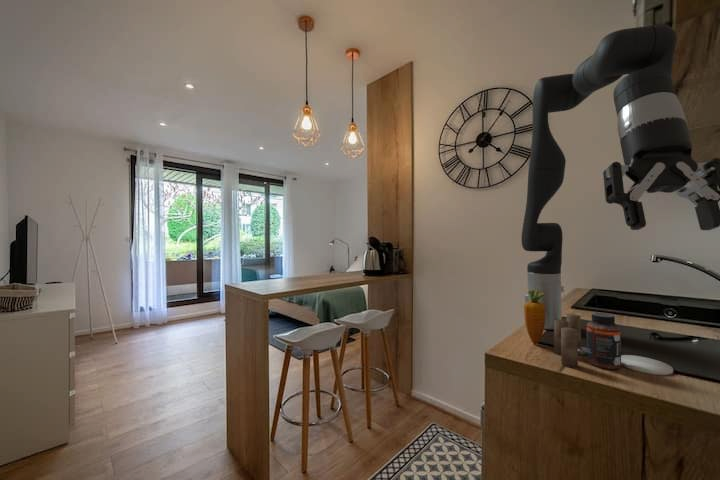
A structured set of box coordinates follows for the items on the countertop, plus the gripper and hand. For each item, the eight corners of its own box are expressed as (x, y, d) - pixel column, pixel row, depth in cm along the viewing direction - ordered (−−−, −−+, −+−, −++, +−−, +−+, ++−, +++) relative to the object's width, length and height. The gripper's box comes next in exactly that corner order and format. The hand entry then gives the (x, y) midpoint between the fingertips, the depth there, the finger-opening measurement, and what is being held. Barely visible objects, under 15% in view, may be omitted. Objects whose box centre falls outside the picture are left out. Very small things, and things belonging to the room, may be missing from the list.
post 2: (564, 344, 78) (563, 314, 78) (571, 343, 80) (570, 313, 80) (576, 348, 76) (575, 317, 76) (583, 346, 77) (583, 316, 77)
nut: (570, 353, 73) (570, 348, 73) (576, 349, 76) (576, 345, 76) (590, 358, 70) (590, 353, 70) (595, 354, 72) (595, 349, 72)
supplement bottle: (628, 371, 63) (627, 318, 62) (596, 369, 64) (595, 317, 64) (610, 360, 68) (609, 311, 68) (581, 358, 70) (580, 310, 70)
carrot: (536, 340, 82) (535, 286, 82) (550, 347, 77) (549, 289, 77) (520, 341, 81) (519, 287, 81) (533, 348, 76) (532, 290, 76)
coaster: (607, 361, 67) (607, 359, 67) (629, 355, 71) (629, 352, 71) (659, 378, 59) (659, 375, 59) (682, 370, 63) (682, 367, 63)
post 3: (558, 363, 67) (558, 328, 67) (567, 361, 68) (566, 326, 68) (572, 369, 64) (571, 332, 64) (581, 366, 65) (580, 330, 65)
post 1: (551, 352, 73) (551, 320, 73) (559, 350, 75) (558, 318, 75) (563, 356, 71) (563, 323, 71) (571, 354, 72) (571, 321, 72)
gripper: (686, 143, 49) (711, 237, 44) (587, 148, 52) (601, 235, 47) (730, 111, 42) (765, 219, 37) (612, 119, 45) (632, 219, 40)
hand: (673, 228), depth 42 cm, fingers open, 8 cm apart
